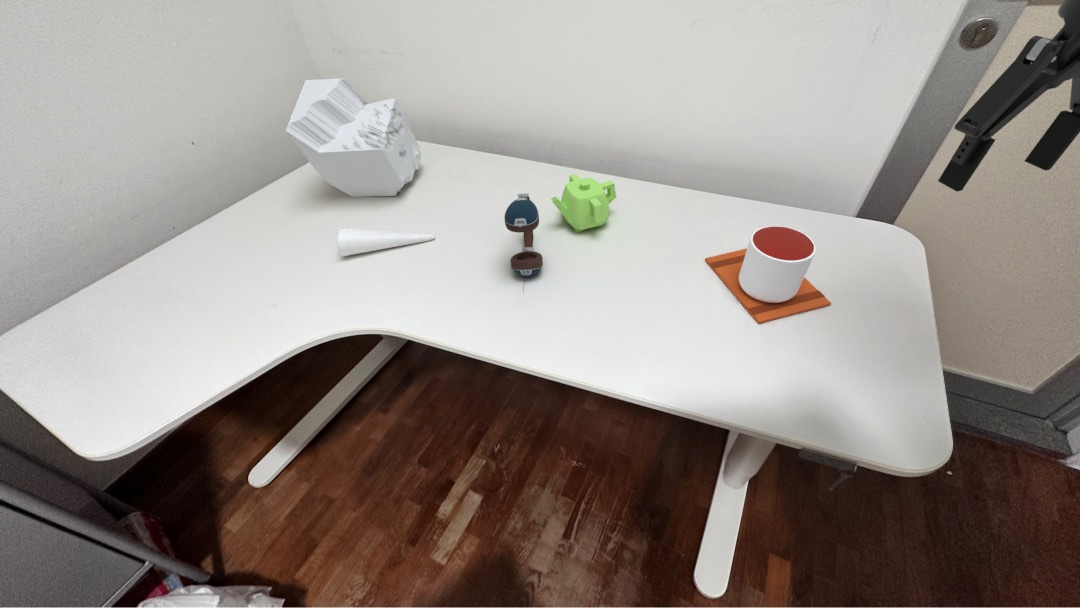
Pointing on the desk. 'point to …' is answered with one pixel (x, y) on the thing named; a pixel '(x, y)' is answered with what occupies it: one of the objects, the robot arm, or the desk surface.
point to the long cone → (375, 240)
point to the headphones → (524, 220)
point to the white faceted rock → (353, 139)
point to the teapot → (585, 202)
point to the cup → (776, 263)
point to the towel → (763, 311)
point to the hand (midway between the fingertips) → (993, 175)
